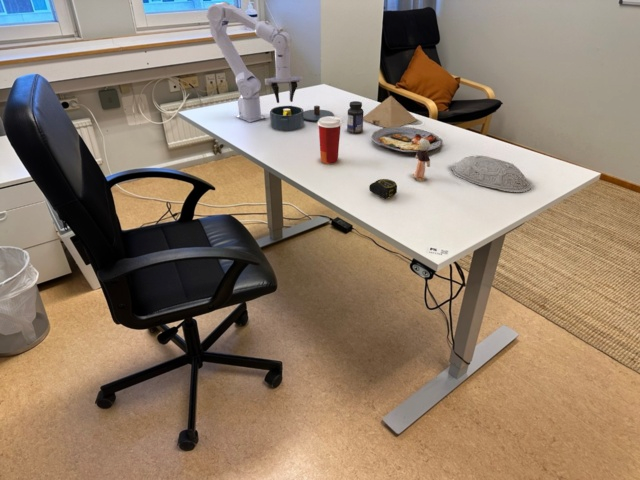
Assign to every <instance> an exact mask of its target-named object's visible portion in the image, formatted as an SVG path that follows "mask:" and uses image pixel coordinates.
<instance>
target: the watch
mask: <svg viewBox="0 0 640 480" xmlns="http://www.w3.org/2000/svg"><path fill="white" fill-rule="evenodd" d="M283 111H284V113H283V115H287V112H288V115H291V111H290V109H283Z"/></svg>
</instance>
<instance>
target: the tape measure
mask: <svg viewBox="0 0 640 480" xmlns="http://www.w3.org/2000/svg"><path fill="white" fill-rule="evenodd" d="M368 189H369V192H371V193H373V194H374V195H376V196H378V197H379V198H381V199H383V200H387V199H389V198H392V197H395V195H396V194H397V193H398V192H397V191H398V184H397V183H396V182H395V181H394V180H392V179H388V178H379V179H377V180H376V181H374V182H372V183H370V185H368Z"/></svg>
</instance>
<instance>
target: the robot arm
mask: <svg viewBox="0 0 640 480" xmlns="http://www.w3.org/2000/svg"><path fill="white" fill-rule="evenodd" d="M206 18H207V20H208V24H209V31H210V35H211V37H212V38H213V40H214V42H215V44H216V45H217V47H218V49H219V50H220V52H221V54H222V55H223V57H224V59H225V60H226V63H227V64H228V66H229V67H230V69H231V71H232V73H233V74H234V76H235V84H236V86H237V88H238V89H237V90H238V94H239V95H240V96H239V97H238V98H237V108H238V115H237V118H239V119H241V120H244V121H246V122H248V123H252V122H256V121H259V120H264V119H266V116H264V115H262V111H261V99H260V98H261V97H260V93H259V92H260V91H261V89H262V83H261V81H260V79H258V78H257V77H256V76H255V74H254V73H253V72H252V71H250V70H248V68H247V66H246V64H245V62H244V61H243V59H242V57H241V56H240V54H239V52H238V50H237V48H236V46H235V45H234V43H233V42H232V40H231V38H230V36H229V35H228V33H227V29H228V26H229V23H230V22H234V21H235V22H237V23H240V24H241V25H243V26H245V27H247V28H248V29H251V30H253V31H254V33H255V35H256V36H257V37H259V38H260V39H262V40H263V41H265V42H267V43H269V44H271V45H272V47H273V48H274V58H275V59H274V61H275V77H269V78H264V85H265V86H269V85H270V87H271V89H272V91H273V93H274V96H275V99H276V103H277V104H279V103H280V96H279V95H280V93H279V91H280V90H279V89H280V86H279V85H280V84H288V89H289V101H290V103H293V102H294V101H293V100H294V95H295V94H296V93H295V92H296V90H297V88H298V83H300V84H301V83H303V77H302V76H301V75H299V76H297V75H296V76H292V75H291V74H292V73H291V72H292V71H291V49H290V48H291V47H290V45H291V44H292V36H291V35H290V33H288V31H287V30H282V29H281V28H279V27H278V28H277V27H275V26H273V25H271V24H270V21H268V20H260V21H258V20H256V19H255V18H253V17H252V16H250V15H249V14H247V13H246V12H244V11H242V10H241V9H240V8H238V7H237V6H235V5H234V4H230V3H229V2H228V1H222V2H218V3H212V4H210V5H209V6H208V8H207V14H206Z"/></svg>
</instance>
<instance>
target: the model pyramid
mask: <svg viewBox="0 0 640 480" xmlns="http://www.w3.org/2000/svg"><path fill="white" fill-rule="evenodd" d="M417 121H418V119H417V118H416V117H415V116H414V115H413V114H411V113H410V111H409V110H407V109H406V107H404V106H403V105H402V104H401V103H400V102H398V101H397V100H396V98H395V97H394V96H393V95H390V96H388V97H387V98H385V99H384V100H383V101H382V102H381V103H379V104H377V106H375V108H373V109H372V110H370V111H369V112H368V113H367V114H365V115H363V122H367V123H370V124H372V125H375V126H379V127H382V128H389V127H403V126H404V125H408V124H411V123H413V122H417Z"/></svg>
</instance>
